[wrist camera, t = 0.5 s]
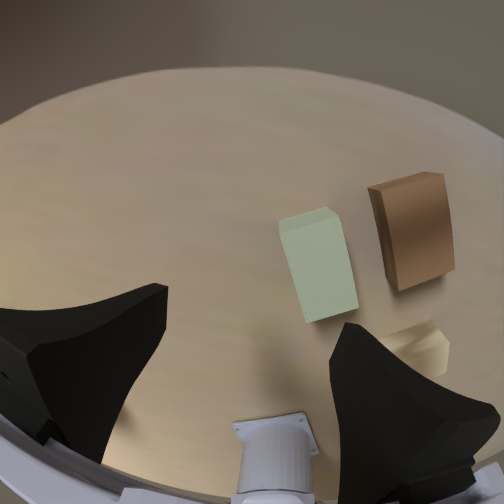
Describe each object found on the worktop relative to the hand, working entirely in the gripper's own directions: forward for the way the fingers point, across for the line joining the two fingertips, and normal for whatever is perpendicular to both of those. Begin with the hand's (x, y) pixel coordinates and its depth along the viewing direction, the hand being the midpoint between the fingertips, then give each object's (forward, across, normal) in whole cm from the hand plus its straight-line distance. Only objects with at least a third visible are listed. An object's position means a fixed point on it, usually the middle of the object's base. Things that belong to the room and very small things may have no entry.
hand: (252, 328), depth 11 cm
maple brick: (+10, -14, +6) cm, 18 cm away
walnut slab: (+10, -10, -4) cm, 15 cm away
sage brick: (+10, -4, -1) cm, 11 cm away
